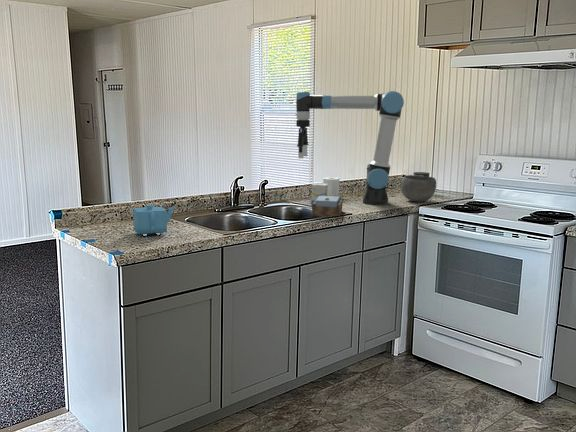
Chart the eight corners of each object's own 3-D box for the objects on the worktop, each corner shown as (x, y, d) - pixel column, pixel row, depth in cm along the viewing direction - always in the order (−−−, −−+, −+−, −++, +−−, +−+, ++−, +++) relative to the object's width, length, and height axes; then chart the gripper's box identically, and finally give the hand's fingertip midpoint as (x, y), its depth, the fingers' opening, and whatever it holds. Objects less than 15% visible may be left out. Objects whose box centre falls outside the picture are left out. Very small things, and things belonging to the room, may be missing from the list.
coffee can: (426, 193, 377) (427, 172, 374) (429, 195, 366) (431, 173, 364) (410, 192, 377) (412, 171, 374) (413, 195, 367) (415, 173, 364)
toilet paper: (322, 198, 348) (322, 179, 345) (323, 195, 358) (323, 177, 356) (338, 199, 347) (339, 179, 344) (339, 196, 357) (339, 177, 354)
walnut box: (342, 211, 306) (342, 199, 305) (339, 217, 288) (339, 205, 287) (316, 209, 308) (316, 198, 307) (312, 215, 291) (312, 204, 290)
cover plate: (339, 202, 304) (339, 194, 303) (336, 207, 289) (336, 199, 288) (319, 201, 306) (319, 193, 305) (315, 206, 291) (315, 198, 290)
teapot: (138, 239, 235) (137, 208, 232) (133, 231, 249) (132, 202, 246) (181, 236, 242) (181, 206, 239) (173, 228, 256) (173, 200, 253)
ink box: (325, 205, 323) (326, 185, 321) (310, 204, 324) (311, 184, 322) (327, 203, 331) (328, 183, 329) (313, 202, 333) (313, 182, 331)
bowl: (397, 202, 336) (398, 177, 334) (403, 197, 355) (405, 174, 352) (432, 205, 329) (434, 179, 326) (437, 200, 348) (438, 176, 345)
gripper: (300, 119, 330) (300, 155, 334) (292, 120, 306) (292, 159, 310) (313, 119, 329) (312, 155, 333) (306, 120, 305) (305, 159, 309)
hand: (302, 157), depth 321 cm, fingers open, 13 cm apart
